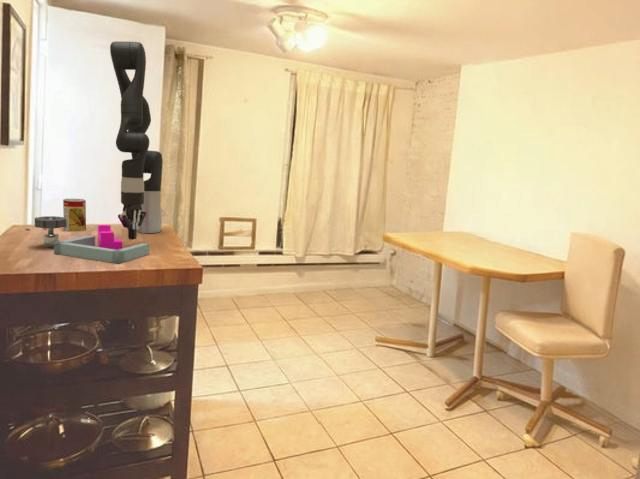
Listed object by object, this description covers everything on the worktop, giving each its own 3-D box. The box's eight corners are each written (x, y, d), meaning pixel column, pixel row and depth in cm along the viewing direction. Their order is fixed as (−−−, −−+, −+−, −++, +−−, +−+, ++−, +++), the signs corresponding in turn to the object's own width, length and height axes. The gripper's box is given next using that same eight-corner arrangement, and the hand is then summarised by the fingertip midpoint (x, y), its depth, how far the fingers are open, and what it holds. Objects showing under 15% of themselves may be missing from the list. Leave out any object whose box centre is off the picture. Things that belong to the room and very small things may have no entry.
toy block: (122, 255, 154) (122, 232, 153) (101, 255, 151) (101, 232, 150) (117, 245, 167) (117, 224, 165) (98, 245, 164) (98, 224, 162)
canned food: (90, 230, 189) (89, 200, 186) (70, 232, 182) (70, 201, 180) (78, 227, 193) (78, 198, 191) (59, 228, 186) (59, 198, 184)
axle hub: (51, 244, 160) (50, 217, 158) (61, 246, 158) (61, 218, 157) (40, 246, 155) (39, 218, 154) (51, 248, 154) (50, 220, 153)
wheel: (50, 222, 161) (50, 215, 161) (72, 225, 159) (72, 218, 158) (28, 226, 152) (27, 218, 152) (50, 229, 150) (50, 221, 150)
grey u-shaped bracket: (88, 245, 163) (88, 235, 162) (149, 254, 157) (149, 244, 156) (54, 253, 148) (53, 242, 148) (119, 263, 142) (119, 252, 142)
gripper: (135, 188, 170) (135, 235, 173) (110, 190, 157) (110, 240, 161) (153, 190, 168) (152, 237, 171) (129, 192, 156) (129, 243, 159)
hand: (132, 239), depth 166 cm, fingers closed
